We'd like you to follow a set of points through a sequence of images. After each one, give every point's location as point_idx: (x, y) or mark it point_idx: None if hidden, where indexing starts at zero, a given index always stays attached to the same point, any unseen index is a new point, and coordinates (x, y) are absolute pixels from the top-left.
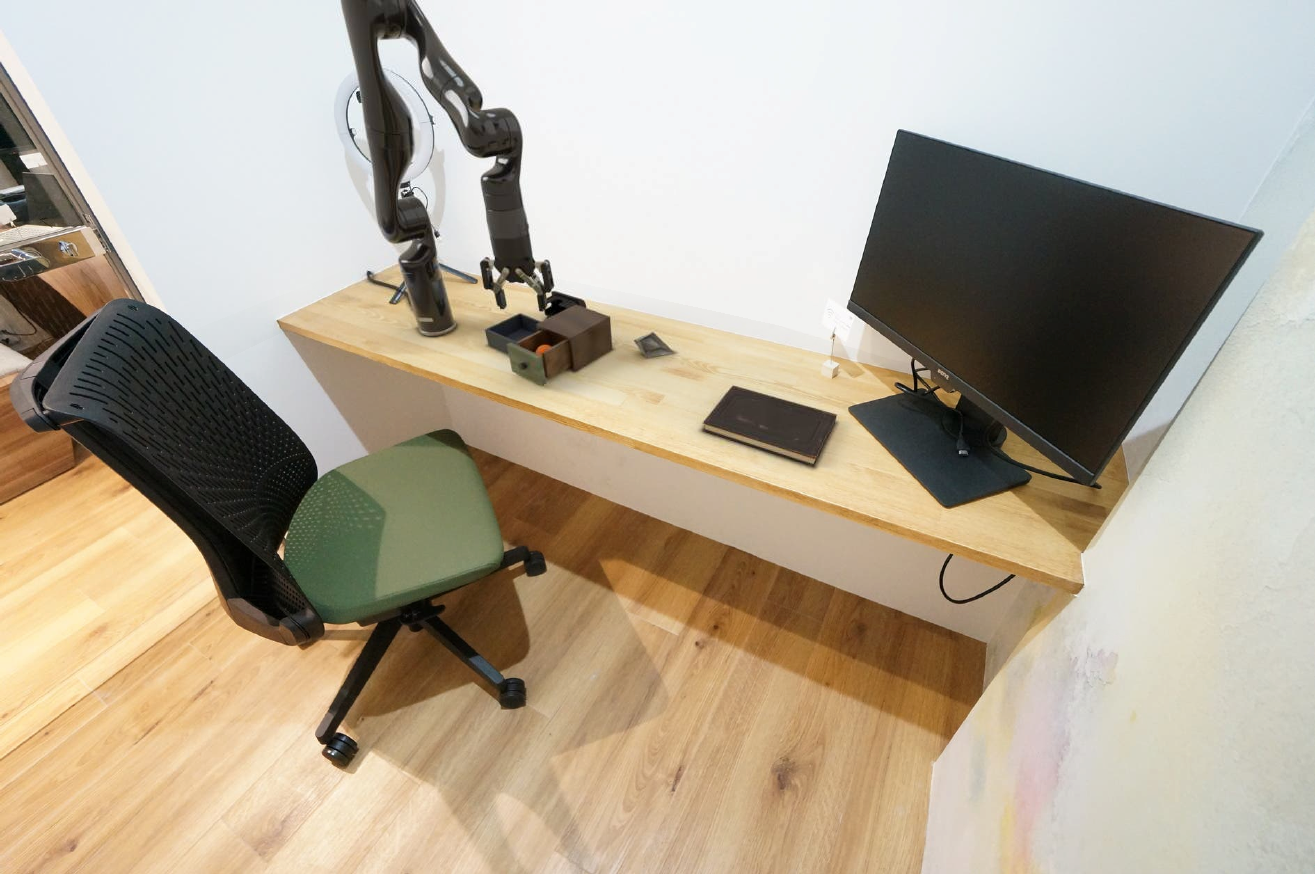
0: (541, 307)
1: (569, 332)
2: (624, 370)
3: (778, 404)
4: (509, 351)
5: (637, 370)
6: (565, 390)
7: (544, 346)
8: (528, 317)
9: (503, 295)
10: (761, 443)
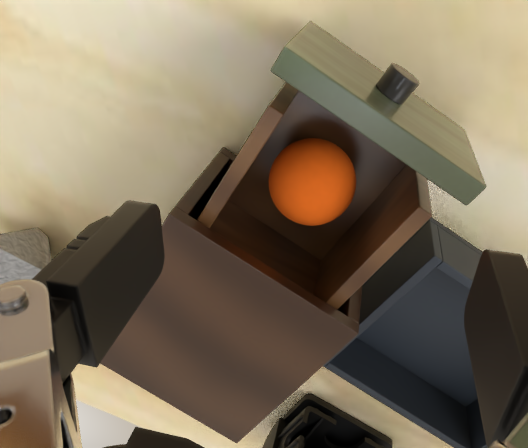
0: (114, 214)
1: (191, 259)
2: (72, 159)
3: None
4: (471, 164)
5: (35, 159)
6: (223, 18)
7: (303, 199)
8: (435, 430)
9: (487, 378)
10: None
